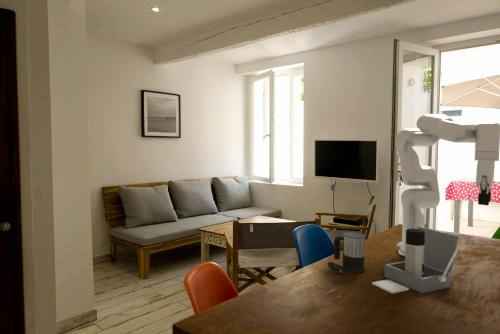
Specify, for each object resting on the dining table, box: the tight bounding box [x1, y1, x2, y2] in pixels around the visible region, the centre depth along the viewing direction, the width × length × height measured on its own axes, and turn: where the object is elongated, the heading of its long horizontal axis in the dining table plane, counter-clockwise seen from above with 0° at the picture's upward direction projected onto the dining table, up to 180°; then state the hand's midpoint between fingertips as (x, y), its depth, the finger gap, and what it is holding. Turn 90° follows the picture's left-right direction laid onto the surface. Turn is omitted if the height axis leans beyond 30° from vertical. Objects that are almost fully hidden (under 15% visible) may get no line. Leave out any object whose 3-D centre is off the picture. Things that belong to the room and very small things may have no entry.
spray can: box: [404, 229, 425, 278], centre depth 142 cm, size 7×7×20 cm
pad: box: [371, 279, 410, 294], centre depth 138 cm, size 10×8×1 cm
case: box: [383, 227, 460, 294], centre depth 143 cm, size 19×18×19 cm
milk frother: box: [327, 231, 367, 275], centre depth 155 cm, size 14×16×15 cm
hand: (484, 203), depth 138 cm, fingers open, 9 cm apart
